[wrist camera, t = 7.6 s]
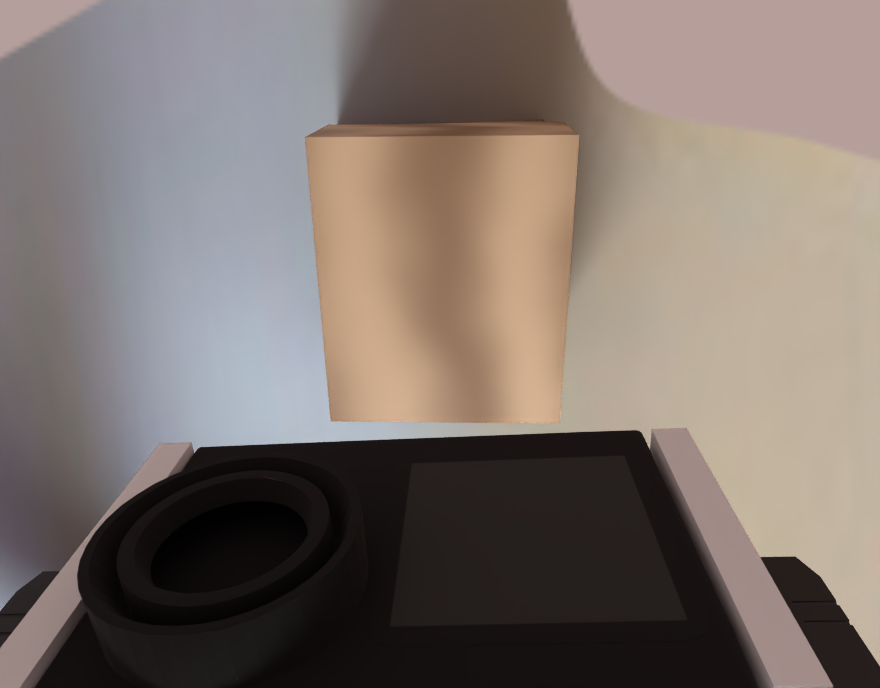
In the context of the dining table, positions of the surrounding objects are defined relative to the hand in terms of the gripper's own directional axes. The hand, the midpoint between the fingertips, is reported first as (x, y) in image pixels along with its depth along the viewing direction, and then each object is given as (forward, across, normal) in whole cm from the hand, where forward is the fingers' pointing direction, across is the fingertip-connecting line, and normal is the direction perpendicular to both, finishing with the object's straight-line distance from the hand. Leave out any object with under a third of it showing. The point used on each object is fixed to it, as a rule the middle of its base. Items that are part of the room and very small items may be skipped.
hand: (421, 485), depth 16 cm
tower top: (+17, 0, 0) cm, 17 cm away
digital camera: (0, 0, 0) cm, 1 cm away
